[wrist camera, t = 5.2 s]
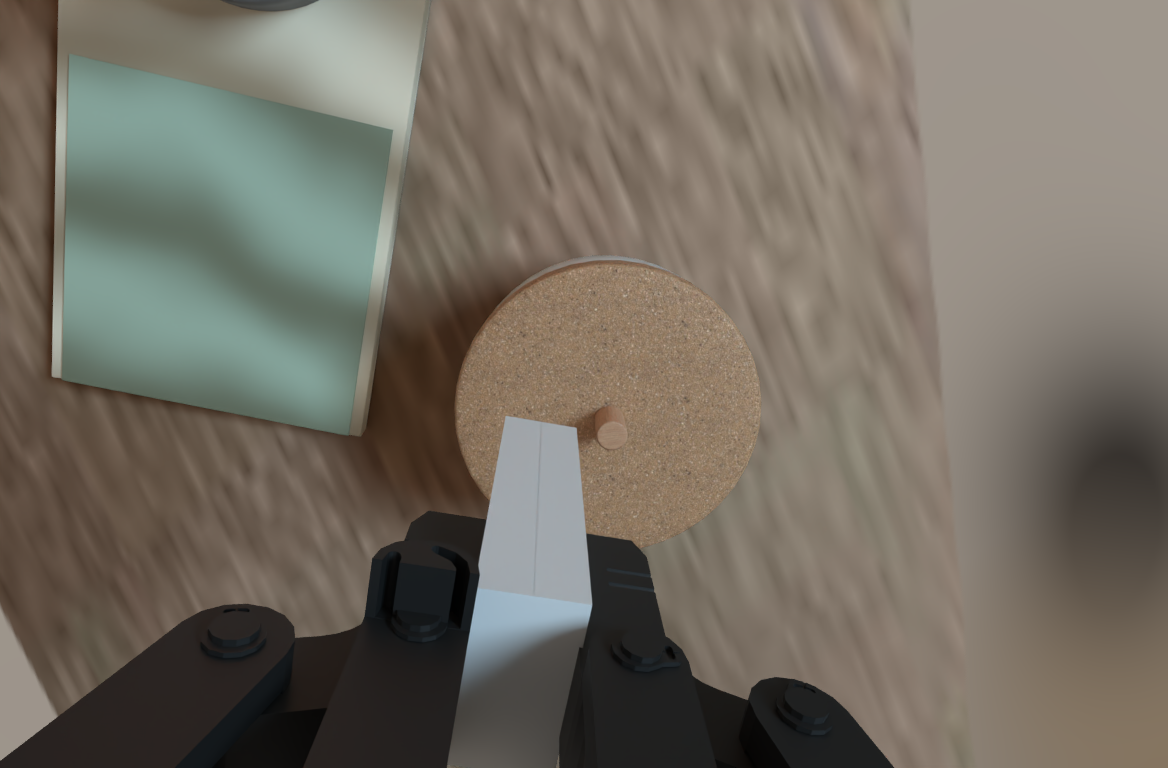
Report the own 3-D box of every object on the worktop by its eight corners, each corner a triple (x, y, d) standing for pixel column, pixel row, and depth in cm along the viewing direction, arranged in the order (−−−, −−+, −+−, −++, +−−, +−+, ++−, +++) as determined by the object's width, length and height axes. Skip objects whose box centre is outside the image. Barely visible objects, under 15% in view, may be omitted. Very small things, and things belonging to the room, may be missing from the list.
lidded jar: (721, 457, 35) (776, 564, 26) (492, 477, 35) (469, 593, 26) (714, 224, 32) (775, 256, 23) (461, 246, 32) (423, 288, 23)
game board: (365, 428, 34) (345, 459, 31) (66, 369, 33) (10, 395, 29) (463, -214, 27) (449, -264, 23) (82, -322, 25) (11, -392, 22)
